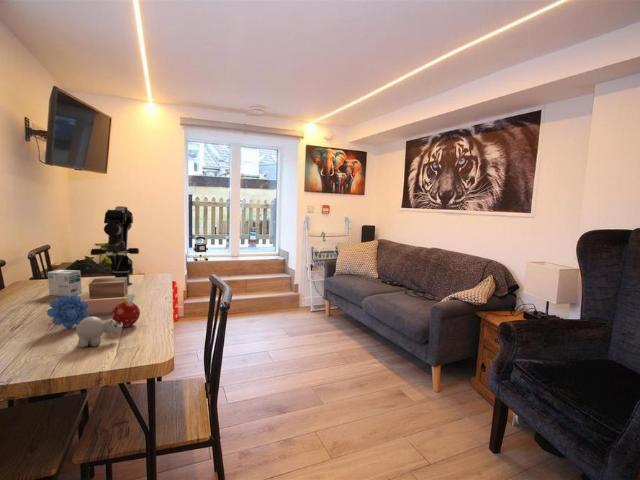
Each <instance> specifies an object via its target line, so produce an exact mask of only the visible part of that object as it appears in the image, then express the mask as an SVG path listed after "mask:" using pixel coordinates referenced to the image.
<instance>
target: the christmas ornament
mask: <svg viewBox="0 0 640 480" xmlns="http://www.w3.org/2000/svg"><path fill="white" fill-rule="evenodd" d="M140 315H141V310H140V308H139V306H138V305H137V304H135V302H133V301H132V302H128V300H127V298H125V299H124V300H123V302H122V303H120V304H118V305H117V306H116V307H115V308H114V309H113V311H112V315H111V317H113V320H115V321H116V323H117V324H119V325H120V324H121V322H122V323H123V326H122V328H126V327H130V326H132V325H134V324H135V323H137V322H138V320H139V319H140Z"/></svg>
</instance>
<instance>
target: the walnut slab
mask: <svg viewBox="0 0 640 480" xmlns="http://www.w3.org/2000/svg"><path fill="white" fill-rule="evenodd" d="M128 291H129V289H128V286H127V277H118V278H115V277H102V278H100V277H99V278H94V279H93V280H91V281H90V283H88V295H89V296H88V297H89V299H88V300H90V299H104V298H118V297H126V295H127V293H129V292H128Z"/></svg>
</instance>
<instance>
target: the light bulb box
mask: <svg viewBox="0 0 640 480" xmlns="http://www.w3.org/2000/svg"><path fill="white" fill-rule="evenodd" d="M81 274H82V273H81V270H71V269H56V270H52V271H48V272H47V281H48V294H49V296H58V297H59V296H61V295H62V294H65V295H68V296H69V297H71V296H73V295H78V294H81V293H82V292H83V291H82V276H81Z"/></svg>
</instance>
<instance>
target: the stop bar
mask: <svg viewBox="0 0 640 480" xmlns="http://www.w3.org/2000/svg"><path fill="white" fill-rule="evenodd" d="M125 298H127V297H118V298H104V299H90V300H89V299H81V301H85V302H87V303H88V308H87V309H85V310H88V311H89V313H101V312H112V311H113V309H114V308H115V307H116V306H117V305H118V304H120V303H122V302H123V300H124V299H125ZM81 301H80V302H81Z"/></svg>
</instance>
